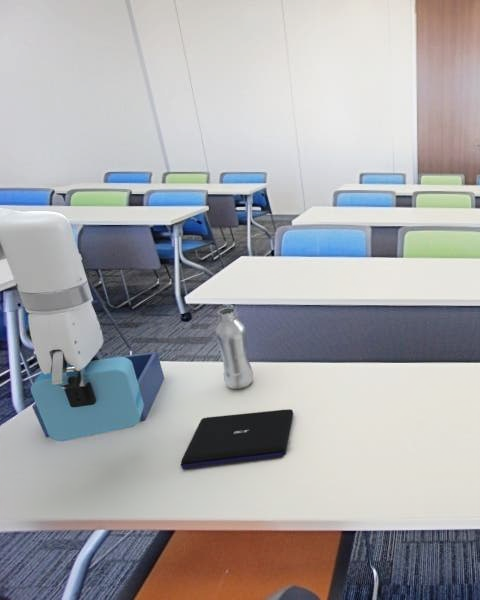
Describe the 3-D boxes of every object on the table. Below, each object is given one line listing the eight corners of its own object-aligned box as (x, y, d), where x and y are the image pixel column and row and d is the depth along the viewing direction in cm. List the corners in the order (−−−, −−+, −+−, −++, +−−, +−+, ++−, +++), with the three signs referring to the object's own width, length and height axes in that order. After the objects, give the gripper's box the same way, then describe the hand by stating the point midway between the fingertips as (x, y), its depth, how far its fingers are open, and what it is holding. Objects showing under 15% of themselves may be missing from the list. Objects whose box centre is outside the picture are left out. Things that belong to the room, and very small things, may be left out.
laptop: (279, 469, 75) (278, 461, 74) (168, 471, 73) (165, 463, 73) (302, 414, 90) (301, 407, 89) (210, 414, 88) (208, 407, 87)
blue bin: (45, 437, 79) (31, 406, 77) (81, 389, 94) (70, 362, 91) (145, 420, 85) (135, 391, 82) (164, 378, 99) (157, 351, 96)
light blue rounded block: (145, 410, 74) (130, 354, 70) (141, 425, 71) (125, 367, 66) (61, 426, 69) (38, 368, 64) (51, 444, 65) (26, 383, 61)
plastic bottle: (226, 395, 94) (211, 319, 87) (224, 380, 100) (209, 308, 92) (256, 387, 98) (244, 314, 90) (252, 374, 103) (240, 303, 95)
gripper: (53, 278, 66) (84, 371, 73) (-11, 322, 52) (35, 433, 59) (109, 275, 69) (134, 365, 76) (63, 317, 54) (99, 423, 61)
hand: (90, 393), depth 67 cm, fingers closed on light blue rounded block, 4 cm apart
